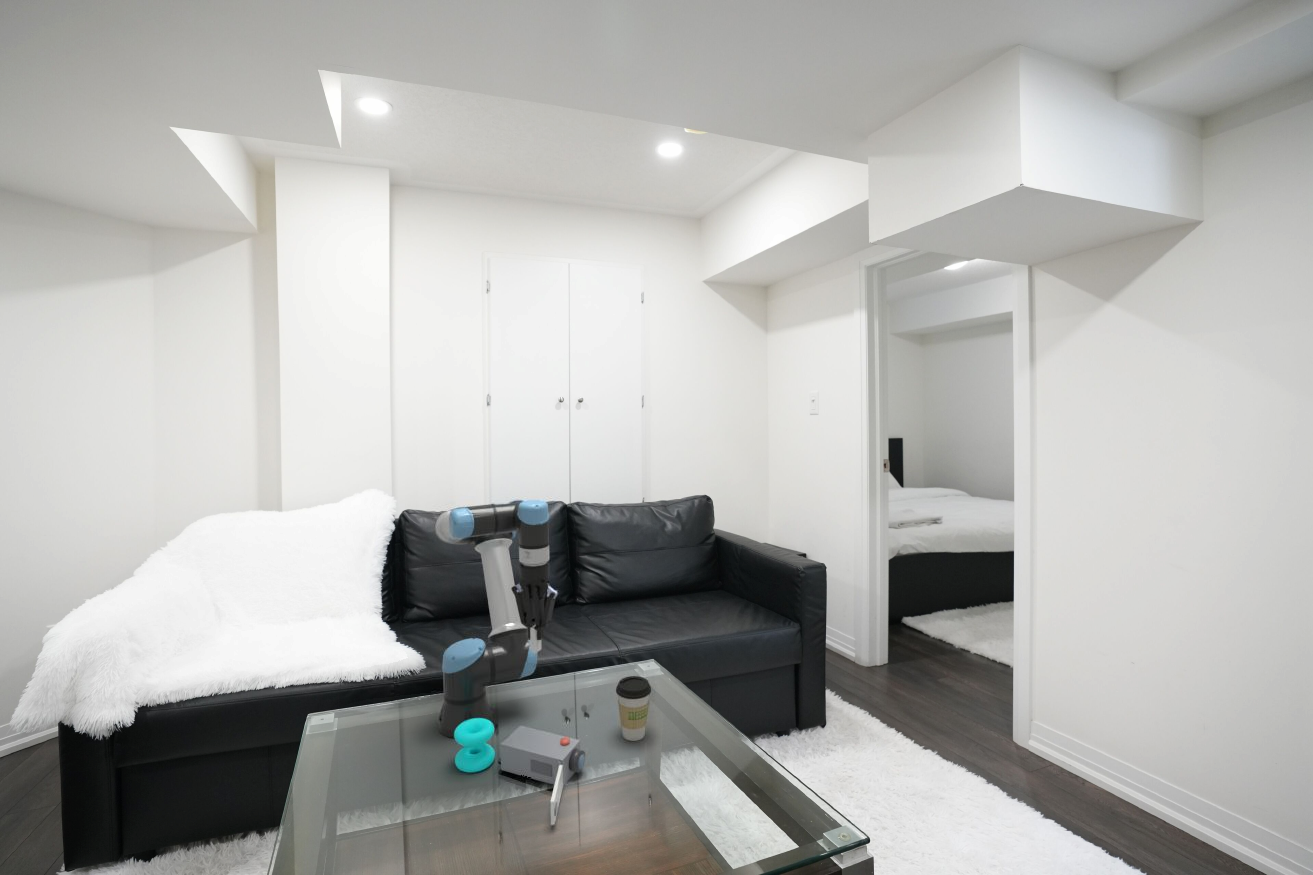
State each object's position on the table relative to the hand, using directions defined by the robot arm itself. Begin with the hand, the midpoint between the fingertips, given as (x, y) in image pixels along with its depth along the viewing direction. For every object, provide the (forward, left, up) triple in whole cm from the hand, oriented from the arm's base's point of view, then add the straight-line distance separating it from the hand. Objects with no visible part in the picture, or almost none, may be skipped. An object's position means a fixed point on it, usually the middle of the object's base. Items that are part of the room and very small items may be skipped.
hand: (536, 650), depth 164 cm
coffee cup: (+19, +19, -30) cm, 40 cm away
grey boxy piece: (+4, -4, -29) cm, 30 cm away
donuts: (-14, -8, -30) cm, 34 cm away
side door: (+14, -15, -29) cm, 35 cm away
